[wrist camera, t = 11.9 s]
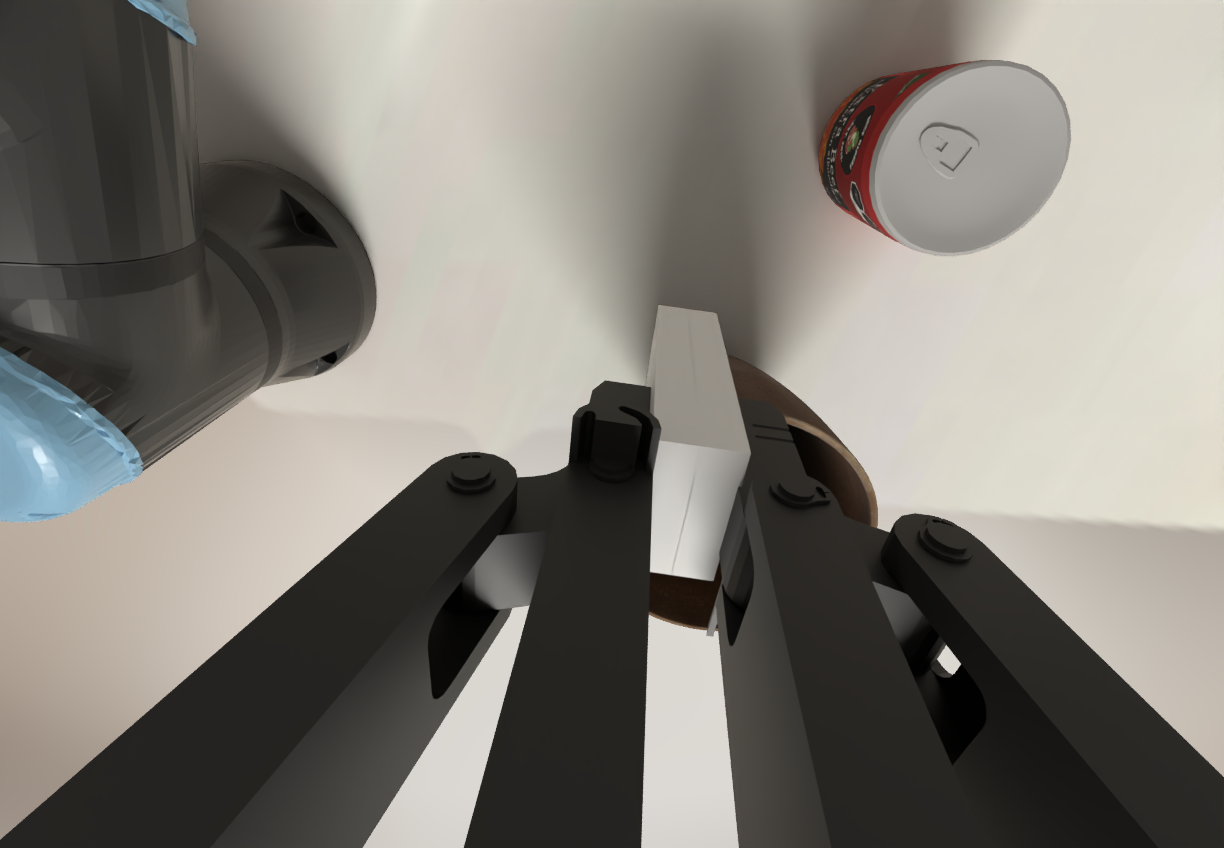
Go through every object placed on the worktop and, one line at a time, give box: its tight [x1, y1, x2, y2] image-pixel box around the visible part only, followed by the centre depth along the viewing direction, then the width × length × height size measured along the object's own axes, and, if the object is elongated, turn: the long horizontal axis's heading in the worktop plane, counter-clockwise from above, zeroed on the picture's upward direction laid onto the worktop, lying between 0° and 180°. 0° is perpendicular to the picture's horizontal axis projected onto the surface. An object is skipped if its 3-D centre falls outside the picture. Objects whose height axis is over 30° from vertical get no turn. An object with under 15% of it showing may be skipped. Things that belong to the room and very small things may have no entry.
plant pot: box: [649, 355, 878, 631], centre depth 35 cm, size 15×15×16 cm
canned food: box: [819, 60, 1071, 256], centre depth 28 cm, size 8×8×11 cm
